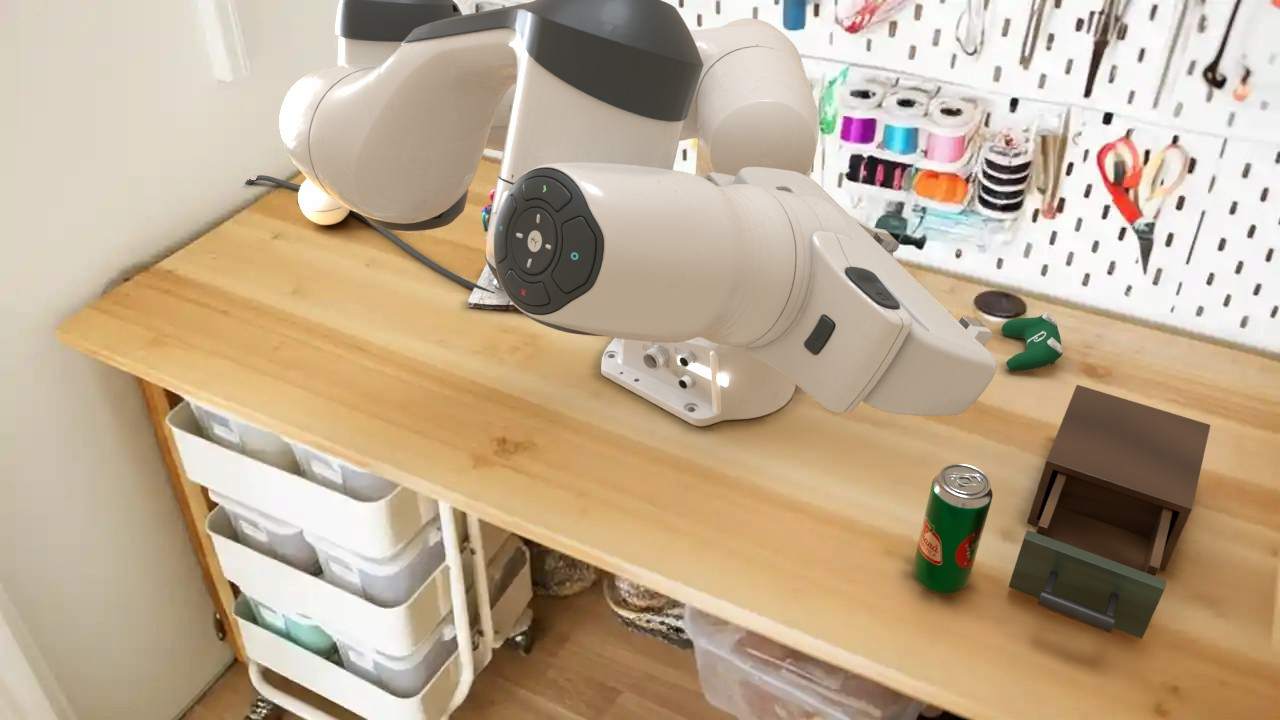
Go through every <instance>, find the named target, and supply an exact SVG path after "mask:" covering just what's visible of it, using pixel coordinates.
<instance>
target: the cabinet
mask: <svg viewBox="0 0 1280 720" xmlns="http://www.w3.org/2000/svg"><path fill="white" fill-rule="evenodd" d="M1210 428H1211V424H1209V423H1205V422H1203V421H1199V420H1196V419H1192V418H1190V417H1186V416H1184V415H1183V416H1182V415H1179V414H1176V413H1173V412H1170V411H1167V410H1163V409H1160V408H1157V407H1153V406H1150V405H1146V404H1143V403H1140V402H1136V401H1134V400H1130V399H1126V398H1123V397H1120V396H1116V395H1113V394H1110V393H1107V392H1103V391H1100V390H1098V389H1097V390H1096V389H1093V388H1090V387H1087V386H1083V385H1080V384H1076V386H1075V388H1074V391H1073V393H1072V396H1071V398H1070V401H1069V403H1068V406H1067V408H1066V410H1065V413H1064V416H1063V418H1062V420H1061V423H1060V426H1059V428H1058V430H1057V433H1056V435H1055V438H1054V440H1053V443H1052V445H1051V448H1050V450H1049V452H1048V456H1047V458H1046V460H1045V464H1044V467H1043V470H1042V473H1041V476H1040V479H1039V483H1038V486H1037V489H1036V492H1035V495H1034V498H1033V501H1032V504H1031V508H1030V511H1029V514H1028V518H1027V519H1026V523H1027V524H1029V525H1032V526H1035V527H1038V525H1039V522H1040V519H1041V517H1042V514H1043V512H1044V509H1045V506H1046V504H1047V501H1048V498H1049V496H1050V493H1051V491H1052V488H1053V485H1054V483H1055V480H1056V478H1057V475H1058V472H1059V471H1060V472H1063V473H1066V474H1069V475H1072V476H1075V477H1077V478H1080V479H1083V480H1086V481H1089V482H1092V483H1095V484H1098V485H1101V486H1104V487H1107V488H1110V489H1113V490H1116V491H1119V492H1122V493H1125V494H1128V495H1131V496H1134V497H1137V498H1140V499H1143V500H1146V501H1149V502H1152V503H1155V504H1158V505H1161V506H1164V507H1167V508H1170V509H1173V513H1172V517H1171V521H1170V526H1169V530H1168V534H1167V538H1166V542H1165V547H1164V551H1163V555H1162V559H1161V563H1160V567H1159V570H1158V571H1160V572H1163V573H1165V571H1166V570H1167V567H1168V565H1169V564H1170V563H1169V562H1170V560H1171V558H1172V556H1173V555H1174V551H1175V549H1176V547H1177V544H1178V542H1179V541H1180V538H1181V536H1182V533H1183V532H1184V528H1185V526H1186V524H1187V522H1188V520H1189V518H1190V515H1191V513H1192V511H1193V508H1194V504H1195V503H1194V502H1195V498H1196V494H1197V489H1198V484H1199V480H1200V475H1201V470H1202V467H1203V462H1204V457H1205V452H1206V448H1207V444H1208V438H1209V434H1210V430H1211V429H1210Z"/></svg>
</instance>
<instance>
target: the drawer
mask: <svg viewBox="0 0 1280 720" xmlns="http://www.w3.org/2000/svg"><path fill="white" fill-rule="evenodd" d="M1172 513H1173V509H1170V508H1167V507H1164V506H1161V505H1158V504H1155V503H1152V502H1149V501H1146V500H1143V499H1140V498H1137V497H1134V496H1131V495H1128V494H1125V493H1122V492H1119V491H1116V490H1113V489H1110V488H1107V487H1104V486H1101V485H1098V484H1095V483H1092V482H1089V481H1086V480H1083V479H1080V478H1077V477H1075V476H1072V475H1069V474H1066V473H1063V472H1060V471H1059V472H1058V475H1057V478H1056V480H1055V483H1054V485H1053V488H1052V491H1051V493H1050V496H1049V498H1048V501H1047V504H1046V506H1045V509H1044V512H1043V514H1042V517H1041V519H1040V522H1039V525H1038V526H1037V528H1036V531H1035V532H1034V531H1031V530H1029V529H1027V530H1026V532H1025V534H1024V537H1023V540H1022V542H1021V546H1020V549H1019V552H1018V556H1017V558H1016V562H1015V565H1014V568H1013V571H1012V573H1011V576H1010V580H1009V583H1008V588H1009V589H1011V590H1014V591H1017V592H1019V593H1021V594H1024V595H1027V596H1029V597H1031V598H1034V599H1037V602H1036V606H1038V607H1041V608H1043V609H1046V610H1049V611H1051V612H1053V613H1056V614H1059V615H1061V616H1064V617H1066V618H1069V619H1071V620H1074V621H1077V622H1079V623H1082V624H1085V625H1087V626H1090V627H1092V628H1095V629H1096V630H1099V631H1102V632H1105V633H1108V634H1111V633H1112V632H1113V630H1117V631H1120V632H1123V633H1125V634H1127V635H1130V636H1133V637H1135V638H1138V639H1140V640H1143V639H1144V636H1145V634H1146V632H1147V629H1148V627H1149V625H1150V623H1151V621H1152V619H1153V616H1154V614H1155V612H1156V610H1157V607H1158V605H1159V603H1160V600H1161V598H1162V596H1163V594H1164V591H1165V588H1166V585H1167V579H1165V578H1161V577H1159V576H1157V574H1158V572H1159V571H1160V570H1159V567H1160V563H1161V559H1162V555H1163V551H1164V547H1165V542H1166V538H1167V534H1168V530H1169V526H1170V521H1171V517H1172Z"/></svg>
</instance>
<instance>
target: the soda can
mask: <svg viewBox="0 0 1280 720" xmlns="http://www.w3.org/2000/svg"><path fill="white" fill-rule="evenodd" d="M991 485H992V484H991V480H990V478H989V476H988V475H987V474H986V473H985V472H984V471H982V470H981V469H979V468H978V467H975V466H973V465H970V464H967V463H950V464H947V465H945V466H944V467H942V468H941V469H940V471H939V472H938V474H936V475H935V476H934V478H933V479H932V481H931V486H930V491H929V494H928V499H927V503H926V508H925V512H924V516H923V520H922V524H921V528H920V534H919V537H918V542H917V546H916V551H915V555H914V559H913V563H912V572H913V576H914V577H915V579H916V580H917V581H918V582H919V583H920V584H921V586H923V587H924V588H926V589H927V590H929V591H931V592H933V593H936V594H940V595H941V594H942V595H950V594H956V593H958V592H961V591H963V590H964V589H965V588H966V587H967V586H968V584H969V582H970V580H971V579H970V578H971V575H972V571H973V568H974V565H975V561H976V558H977V554H978V550H979V547H980V543H981V540H982V536H983V532H984V529H985V525H986V522H987V518H988V515H989V511H990V508H991V504H992V501H993V495H994V493H993V489H992V487H991Z"/></svg>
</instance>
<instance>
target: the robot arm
mask: <svg viewBox="0 0 1280 720" xmlns="http://www.w3.org/2000/svg"><path fill="white" fill-rule="evenodd" d="M334 29H335V30H334V34H335V35H337V37H338V52H337V53H338V54H337V65H336V64H335V65H330V66H326V67H323V68H318V69H315V70H314V71H311V72H309V73H307V74H305V75H303V76H302V77H301V78H300V79H299V80H298V81H297V82H295V83H294V85H292V86H291V88H290V90H289V91H288V92H287V94H286V96H285V97H284V100H283V103H282V105H281V109H280V113H279V132H280V137H281V141H282V144H283V147H284V149H285V152H286V153H287V155H288V156H289V158H290V160H291V161H292V163H293V164H294V166H295V167H296V168H297V169H298V170H299V172H300V173H301V174H302V175H303V176H304V177H305V178H306V180H307V179H308V180H309V181H310V182H311V183H313V184H314V185H315V186H316V187H317V188H318V189H319V190H321V191H322V192H323V193H325V194H326V195H328V196H329V197H330V198H332V199H333V200H335V201H337V202H338V203H340V204H342V205H344V206H345V207H347V208H349V209H350V211H349V213H348V214H351V215H352V216H355V217H356V218H358V219H360V220H361V221H364V222H365V223H366V224H367V225H369V226H370V227H372V228H373V229H375V230H376V231H378V232H379V233H380V234H382V235H383V236H384V237H386V238H387V239H389V240H391V241H392V243H394V244H396V245H397V246H399V247H400V248H401V249H403V250H404V251H405V252H407V253H408V254H409V255H411V256H413V257H414V258H415V259H417V260H419V261H420V262H421V263H423V264H425V265H426V266H428V267H429V268H431V269H432V270H433V271H436V272H437V273H439V274H440V275H443V276H444V277H446V278H448V279H450V280H452V281H454V282H456V283H457V284H460V285H462V286H464V287H465V288H468V289H471V290H472V291H473V290H474V288H478V289H481V290H484V291H487V292H491V293H493V294H494V293H495V292H492V291H490V290H488V289H486V288H483V287H481V286H479V285H476V284H477V283H474V282H472V281H470V280H467V279H465V278H463V277H461V276H460V275H458V274H456V273H453V272H452V271H449V270H448V269H446V268H445V267H442V266H440V265H439V264H437V263H436V262H434V261H433V260H431V259H430V258H428V257H426V256H424V255H423V254H422V253H420V252H419V251H417V250H416V249H414V248H413V247H411V246H410V245H408V244H407V243H406V242H404V241H403V240H402V239H400V238H399V237H397V236H396V235H395V234H393V233H392V232H391V231H394V232H398V233H405V234H407V233H408V234H409V233H410V234H415V233H423V232H428V231H431V230H435V229H439V228H443V227H446V226H448V225H450V224H452V223H453V222H454V221H455V220H456V219H457V218H458V217H459V216H460V215H462V213H463V212H464V210H465V208H466V204H467V199H468V196H469V195H468V194H469V188H470V187H471V185H472V184H473V182H474V179H475V178H476V176H477V173H478V170H479V167H480V164H481V161H482V158H483V155H484V152H485V150H490V151H495V152H501V153H502V156H501V162H500V167H499V170H498V175H497V178H496V183H495V188H494V189H495V193H494V198H493V203H492V202H491V205H492V208H491V214H490V220H489V225H488V231H487V232H486V237H487V240H486V243H485V249H486V254H485V257H484V259H485V261H486V264H488V266H489V268H490V270H491V272H492V274H493V276H494V277H495V279H496V281H497V282H498V284H499V285H500V287H501V288H502V289H503V291H504V292H505V293H506V295H507V296H508V298H509V299H510V301H511V302H512V303H513V304H514V305H515V306H516V308H517V310H518V311H520V313H521V312H522V313H521V314H524V315H525V316H526V317H528V318H529V319H531V320H533V321H534V322H536V323H538V324H540V325H543V326H545V327H548V328H550V329H554V330H557V331H560V332H564V333H568V334H574V335H581V336H592V337H608V338H613V339H612V341H611V342H610V343H609V344H608V346H606V349H605V350H604V352H603V353H602V354H603V355H602V357H601V362H600V373H601V375H602V376H603V377H605V378H606V379H608V380H610V381H612V382H613V383H615V384H617V385H619V386H621V387H623V388H625V389H626V390H629V391H630V392H632V393H634V394H635V395H638V396H639V397H641V398H643V399H645V400H646V401H648V402H650V403H652V404H654V405H656V406H658V407H659V408H661V409H662V410H664V411H666V412H669V413H671V414H672V415H674V416H676V417H677V418H679V419H681V420H683V421H685V422H687V423H689V424H690V425H692V426H694V427H695V426H696V427H706V426H710V425H713V424H717V423H719V422H722V421H731V420H732V421H733V420H747V419H748V420H749V419H755V418H760V417H763V416H768V415H769V414H772V413H774V412H777V411H778V410H780V409H782V407H784V406H785V405H786V404H787V403H788V402H789V401H790V400H791V399H792V397H793V395H794V394H795V391H796V385H797V387H799V388H800V389H801V390H803V391H804V392H805V393H806V394H807V395H809V396H810V397H811V398H812V399H813V400H814V401H816V403H818V404H819V405H820V406H822V407H823V408H825V409H826V410H828V411H830V412H832V413H837V414H848V413H849V414H850V413H853V412H854V410H855V409H856V408H857V407H858V406H859V405H860V404H861V403H862V402H863V403H864V404H866V405H867V406H870V407H871V408H873V409H876V410H878V411H882V412H885V413H889V414H895V415H904V416H920V417H921V416H922V417H948V416H949V417H951V416H957V415H961V414H963V413H965V412H966V411H968V410H969V409H971V407H972V406H973V405H974V404H975V403H976V402H977V401H978V399H979V398H980V397H981V396H982V394H983V393H984V392H985V391H986V390H987V388H988V386H989V385H990V384H991V382H992V381H993V378H994V377H995V375H996V372H997V367H998V364H997V363H998V362H997V359H996V357H995V356H994V355H993V354H992V353H991V352H990V351H989V350H988V349H987V348H986V346H987V345H988V344H989V342H990V341H991V339H992V338H993V336H994V333H993V332H992V331H991V330H990V329H989V328H988V327H987V326H986V325H985V324H984V323H983V322H982V321H981V320H980V319H979V318H978V317H975V316H974V317H971V316H965V315H962V316H961V318H960V319H959V320H957V318H955V317H954V316H953V315H952V314H951V313H950V312H949V311H948V310H947V309H946V308H945V307H944V306H943V305H942V304H941V303H940V302H939V301H938V300H937V299H936V298H935V297H934V296H933V295H932V294H931V293H930V292H929V291H928V290H926V289H925V287H924V286H923V285H922V284H921V283H920V282H918V280H916V278H914V276H913V275H911V274H910V272H909V271H908V270H907V269H905V267H904V266H902V265H901V264H900V263H899V262H898V260H896V259H895V258H894V253H896V252H897V251H898V249H899V248H900V243H899V242H898V241H897V240H896V239H895V238H894V237H893V235H891V233H889V231H887V230H886V229H882V228H877V227H872V226H870V225H869V224H867V223H866V222H864V221H862V220H859V219H857V218H856V217H854V216H852V215H850V213H848V212H847V211H846V210H845V209H844V208H843V207H842V205H840V204H839V203H838V202H837V201H836V200H835V199H834V197H832V196H831V194H829V193H828V192H827V191H826V190H825V189H824V188H823V187H822V186H821V185H820V184H819V183H818V182H817V181H816V180H814V179H812V178H811V174H812V169H813V165H814V161H815V158H816V153H817V147H818V142H819V134H820V114H819V110H818V106H817V104H816V100H815V96H814V94H813V90H812V87H811V84H810V80H809V78H808V76H807V74H806V71H805V66H804V64H803V60H802V56H801V54H800V51H799V50H798V48H797V47H796V45H795V44H794V43H793V41H791V39H790V38H789V37H787V36H786V35H785V34H784V33H783V32H782V31H781V30H780V29H778V28H777V27H775V26H774V25H772V24H771V23H769V22H767V21H765V20H761V19H758V18H751V17H750V18H749V17H747V18H738V19H735V20H732V21H729V22H727V23H725V24H723V25H721V26H718V27H712V28H703V29H696V30H690V29H689V27H688V25H687V24H686V21H685V20H684V18H683V17H682V15H681V13H680V12H679V11H678V9H677V7H675V6H674V5H673V4H671V3H669V2H666V1H664V0H533V1H529V2H524V3H520V4H516V5H509V6H504V7H497V8H493V9H488V10H484V11H477V12H472V13H466V14H463V13H462V11H461V8H460V7H459V5H458V4H457V2H455V1H454V0H339V2H338V5H337V12H336V19H335V28H334ZM693 139H697V142H696V161H695V172H694V173H690V172H687V171H686V172H685V171H680V170H674V165H675V161H676V157H677V152H678V149H679V144H680V142H681V141H686V140H693ZM256 176H257V175H256ZM248 179H249V178H248ZM248 179H246V181H245V182H244V185H247V186H250V185H252V184H253V183H255V182H258V181H259V182H260V181H263V182H267V183H268V182H269V183H272V184H275V185H278V186H282V187H285V188H288V189H291V190H295V191H299V190H300V188H301V185H302V184H297V183H294V182H289V181H287V180H283V179H280V178H278V177H273V176H269V175H264V174H258V176H257V178H256V180H251V179H249V180H248Z"/></svg>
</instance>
